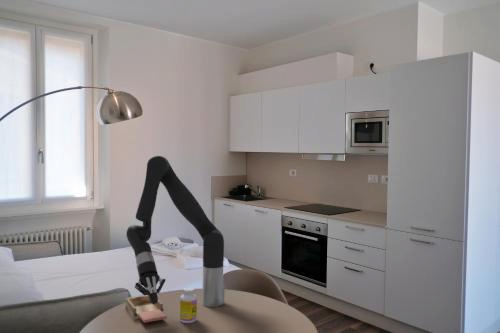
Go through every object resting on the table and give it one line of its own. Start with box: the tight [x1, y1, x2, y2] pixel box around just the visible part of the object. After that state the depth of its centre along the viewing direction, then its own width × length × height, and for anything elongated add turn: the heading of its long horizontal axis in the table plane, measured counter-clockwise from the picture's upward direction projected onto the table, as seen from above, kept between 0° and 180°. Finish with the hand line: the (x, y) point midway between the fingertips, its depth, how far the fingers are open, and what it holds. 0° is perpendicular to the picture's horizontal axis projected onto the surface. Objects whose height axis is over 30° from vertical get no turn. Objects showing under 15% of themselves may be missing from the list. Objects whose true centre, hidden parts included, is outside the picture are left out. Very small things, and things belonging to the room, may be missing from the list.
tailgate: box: [138, 309, 168, 324], centre depth 159 cm, size 9×1×9 cm
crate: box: [125, 295, 164, 321], centre depth 169 cm, size 12×15×4 cm
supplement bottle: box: [179, 286, 198, 324], centre depth 161 cm, size 7×7×13 cm
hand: (154, 303), depth 157 cm, fingers closed
